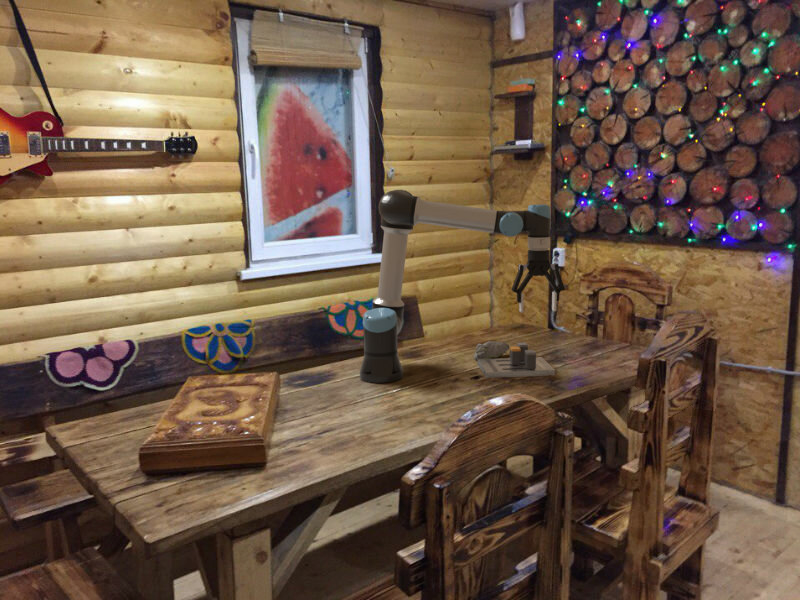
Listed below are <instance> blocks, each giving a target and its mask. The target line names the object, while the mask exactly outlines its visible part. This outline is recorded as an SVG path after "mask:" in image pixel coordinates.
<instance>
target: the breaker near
mask: <svg viewBox="0 0 800 600" xmlns="http://www.w3.org/2000/svg"><path fill="white" fill-rule="evenodd" d="M536 357H537V352H536V351H535V350H534V349H528V350H525V367H526V368H527V369H536Z"/></svg>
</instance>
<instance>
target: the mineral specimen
mask: <svg viewBox="0 0 800 600" xmlns="http://www.w3.org/2000/svg"><path fill="white" fill-rule="evenodd" d="M510 347H511V346H510V345H509V344H508V343H506V342H499V341H492V340H488V341H487V342H484V343H483V344H482V343H477V345H476V348H475V350H474V355H473V359H474V360H477V361H478V359H497V358H499V357H501V356H503V355H504V354H507V351H508V350H510Z"/></svg>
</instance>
